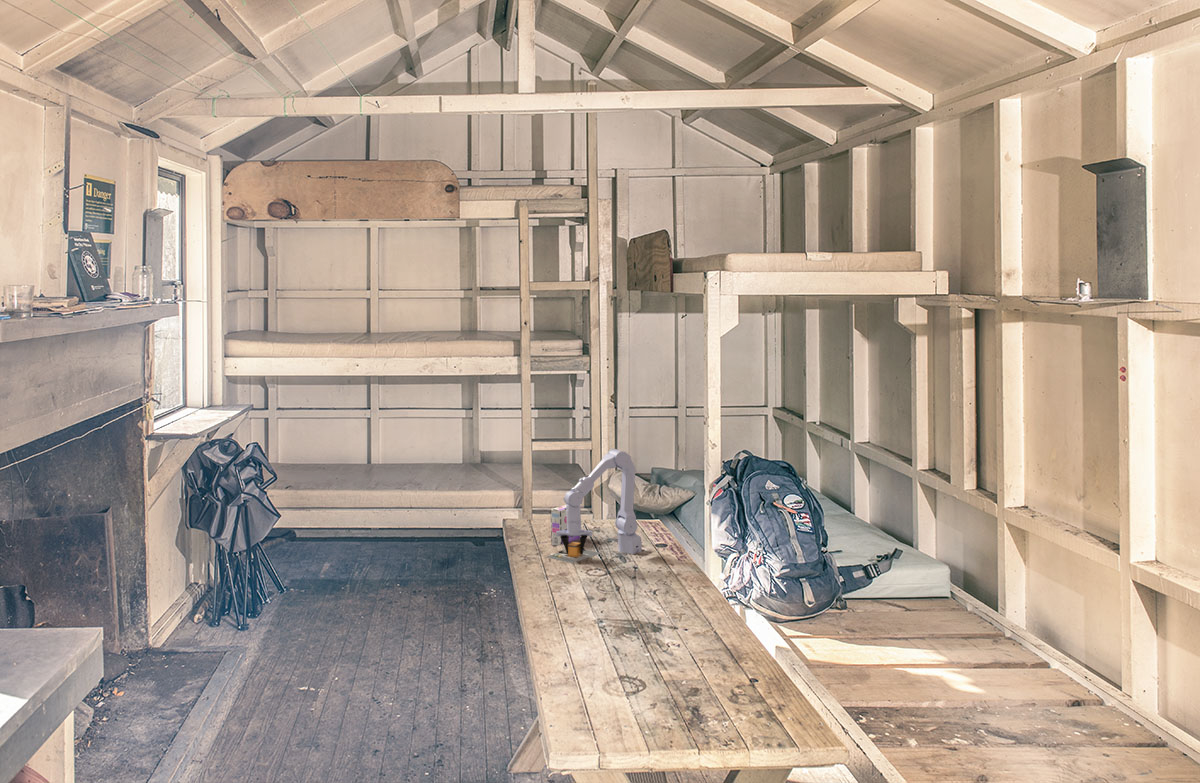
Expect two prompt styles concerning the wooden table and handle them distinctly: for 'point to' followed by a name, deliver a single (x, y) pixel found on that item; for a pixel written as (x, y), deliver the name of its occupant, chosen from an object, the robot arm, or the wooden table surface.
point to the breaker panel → (566, 558)
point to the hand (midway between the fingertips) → (574, 553)
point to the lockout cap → (574, 549)
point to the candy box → (559, 525)
